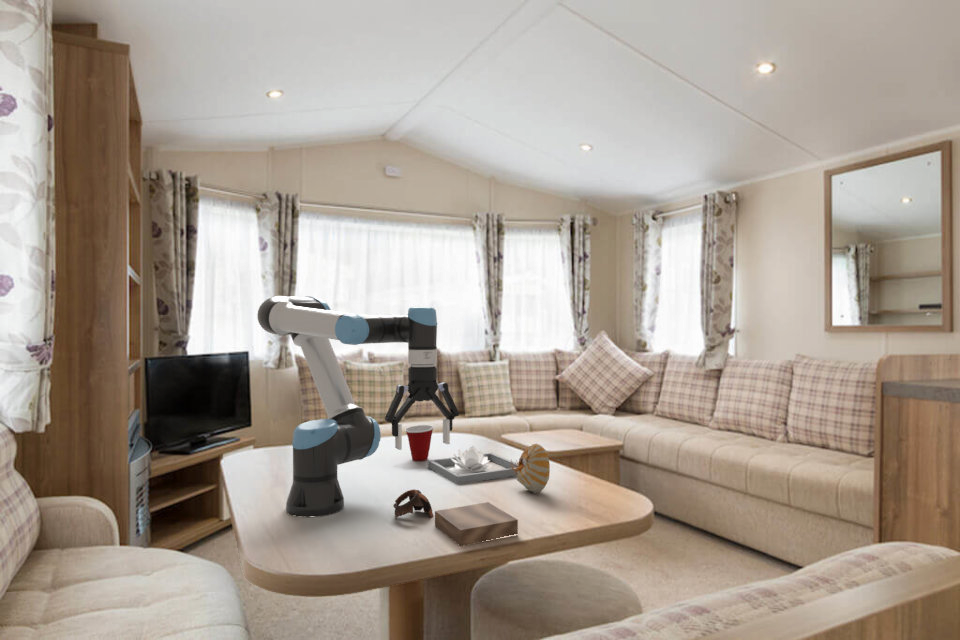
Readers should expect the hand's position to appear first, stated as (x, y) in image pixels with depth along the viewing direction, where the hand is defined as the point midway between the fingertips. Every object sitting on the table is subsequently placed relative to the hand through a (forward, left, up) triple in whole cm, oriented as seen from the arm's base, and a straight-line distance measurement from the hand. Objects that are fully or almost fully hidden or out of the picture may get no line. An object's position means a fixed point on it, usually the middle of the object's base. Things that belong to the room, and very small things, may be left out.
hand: (422, 446), depth 155 cm
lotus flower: (+31, +35, -19) cm, 51 cm away
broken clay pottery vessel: (0, +1, -20) cm, 20 cm away
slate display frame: (+34, +36, -19) cm, 53 cm away
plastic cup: (+23, +61, -19) cm, 67 cm away
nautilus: (+38, +8, -19) cm, 43 cm away
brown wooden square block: (+7, -17, -19) cm, 27 cm away
